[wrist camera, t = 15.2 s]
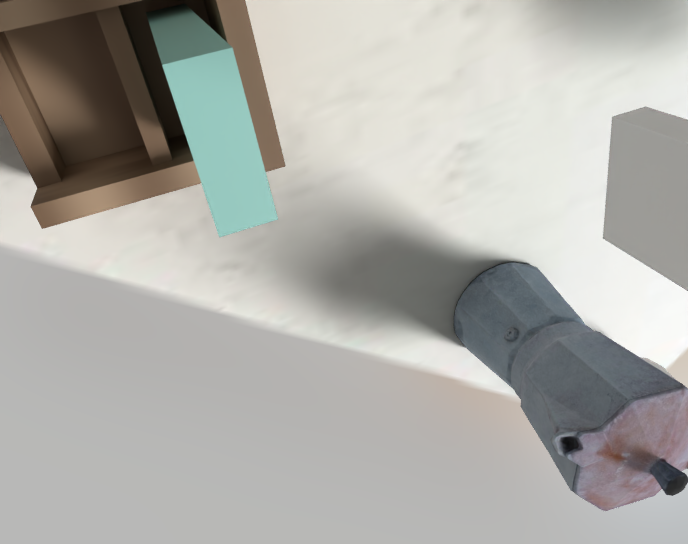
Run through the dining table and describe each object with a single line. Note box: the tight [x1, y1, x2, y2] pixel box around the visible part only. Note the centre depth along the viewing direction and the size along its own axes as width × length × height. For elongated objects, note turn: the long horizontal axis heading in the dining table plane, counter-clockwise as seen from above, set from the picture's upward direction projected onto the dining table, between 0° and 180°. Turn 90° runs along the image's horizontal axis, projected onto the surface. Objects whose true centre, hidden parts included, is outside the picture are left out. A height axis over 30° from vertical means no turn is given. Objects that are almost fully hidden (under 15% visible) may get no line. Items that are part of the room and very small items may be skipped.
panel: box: [146, 4, 278, 237], centre depth 24 cm, size 2×6×16 cm, turn 11°
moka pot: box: [454, 262, 688, 511], centre depth 40 cm, size 10×15×20 cm, turn 74°
